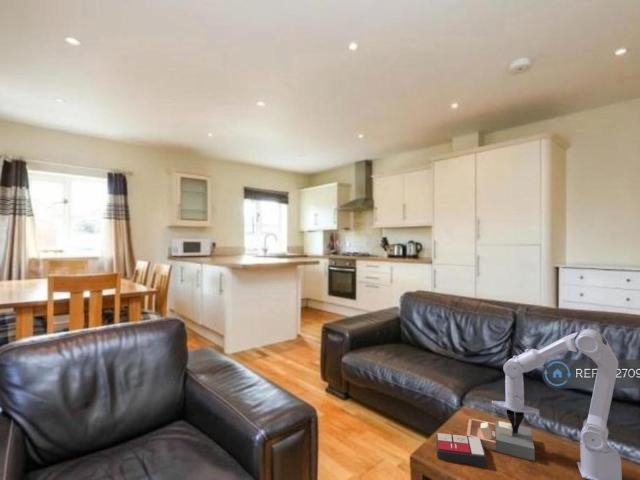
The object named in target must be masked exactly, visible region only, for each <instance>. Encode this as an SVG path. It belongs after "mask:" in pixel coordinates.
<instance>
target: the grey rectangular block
mask: <svg viewBox="0 0 640 480" xmlns="http://www.w3.org/2000/svg"><path fill="white" fill-rule="evenodd" d="M511 427H512V425H511ZM495 438H496V451H495V452H498V453H501V454H505V455H509V456H513V457H516V458H521V459H525V460H530V461H534V462H535V461H536V460H535V459H536V457H535V456H536V455H535V454H536V452H535V445H534V444H535V443H534V441H533V435H532V430H531V427H526V426H521V425H520V426H519V428H518V434H517V433H513V428H512V436H509V435H504V434H500V433H499V420H495Z"/></svg>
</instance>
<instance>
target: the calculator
mask: <svg viewBox="0 0 640 480" xmlns="http://www.w3.org/2000/svg"><path fill="white" fill-rule="evenodd" d="M435 437H436V439H435V440H436V454H437V455H436V456H437V459H438V460H440V461H441V460H443V461H447V462H453V463H454V462H455V463H460V464H467V465H471V466H474V465H475V466H476V467H479V468H486V469H487V467H488V465H487V463H488V462H487V455H486V452H485V449H484V447H483V444H482V440H481V439H480V438H474V437H467V435H461V434H459V435H458V434H451V433H443V432H442V433H441V432H440V433H439V432H437V434H436V435H435Z"/></svg>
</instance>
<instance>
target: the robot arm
mask: <svg viewBox="0 0 640 480" xmlns="http://www.w3.org/2000/svg"><path fill="white" fill-rule="evenodd" d="M567 351H569V352H570V351H571V352H574V353H577V352H578V351H580V352H581V353H583V355H586V356H588V357H589V358H590V359H591V361H593V362H594V363H595V364H596V365H597V369H596V373H595V374H596V376H595V381H594V385H593V391H592V397H591V399H590V406H589V411H588V415H587V418H586V419H584V420H583V422H582V429H581V431H580V433H579V437H580V439H579V445H580V447H579V449H580V451H579V452H580V454H579V455H580V456H579V457H580V459H579V460H580V461H576V464H577V467H578V470H579V473H580V475H581V477H582V478H583V479H586V480H622V479H623V478H622V477H623V475H622V474H623V473H622V472H623V471H622V459H621V456H620V453H619V451H618V450H617V449H616V448H612V447H610V445H609V443H608V436H609V432H610V431H609V427H608V426H607V424H608V423H607V422H608V418H609V414H610V408H611V403H612V400H613V393H614V389H615V384H616V380H617V379H616V378H617V373H618V371H619V370H618V369H619V360H618V359H617V357H616V355H615V353H614V351H613V349H612V347H611V346H610V343H609V342H608V340H607V339H606V337H605V336H603V335H602V333H600V332H599V331H598V330H596V329H593V328H584V329H582V330H580V332H578V331H577V332H574V333H571V334H568V335H566V336H563V337H562V338H560V339H558V340H556V341H554V342H552V343H550V344H548V345H546V346H545V347H542V348H541V349H535V348H531V349H530V348H526V349H524V352H522V353H521V354H519V355H513V356H512V358H510V359H508V360H507V361H506V362H505V363H504V364H503V368H502V369H503V372H504V375H505V376H504V377H505V380H504V383H505V384H504V386H505V387H504V388H505V391H504V392H505V396H504V397H505V401H503V400H502V401H501V400H499V401H498V400H491V408H492V409H500V410H505V411H506V415H507V417H508V420H509V421H510V422H509V423H510V424H511V425H512V428H513V433H517V434H518V428H519V426H521V423H522V421H523V420H524V418H525V416H524V415H525V414H526V415H531V416H535V417H536V418H540V410H539V408H534V407H532V406H528V405H526V404H525V389H524V388H525V385H524V383H525V382H524V373H528V372H531V371H533V370H536V369H537V368H539V367H542V366H544V365H545V362H546V359H550V358H552V357H554V356H556V355H558V354H561V353H564V352H567Z"/></svg>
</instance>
